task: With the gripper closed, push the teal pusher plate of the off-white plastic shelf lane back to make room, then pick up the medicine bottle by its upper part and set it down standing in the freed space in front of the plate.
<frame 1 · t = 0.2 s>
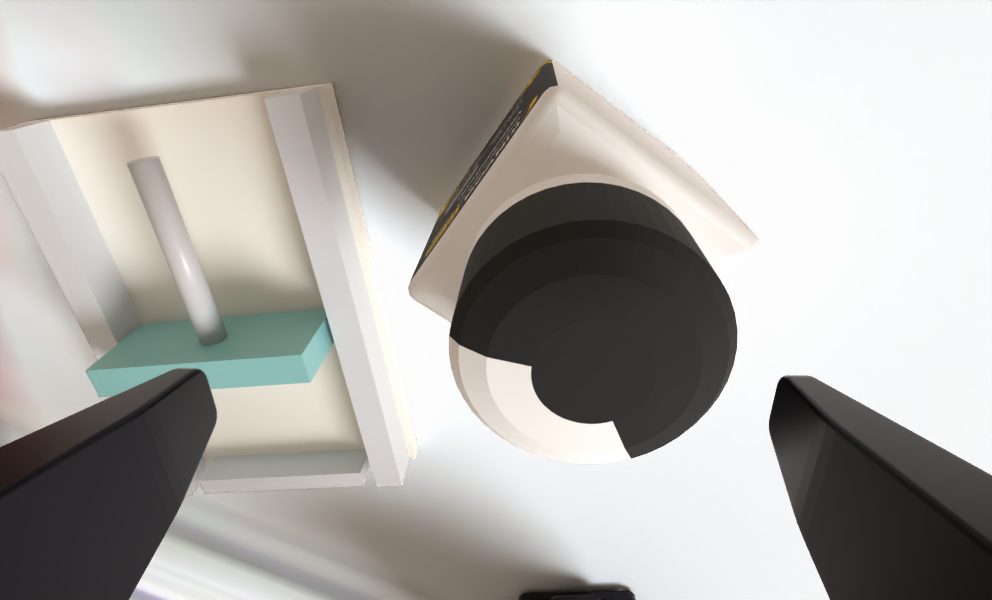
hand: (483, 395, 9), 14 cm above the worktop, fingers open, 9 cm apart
medicine bottle: (565, 193, 23), on the worktop
pusher: (187, 270, 21), point 3 cm above the worktop, slide at 0.0 cm
lane: (248, 304, 25), on the worktop
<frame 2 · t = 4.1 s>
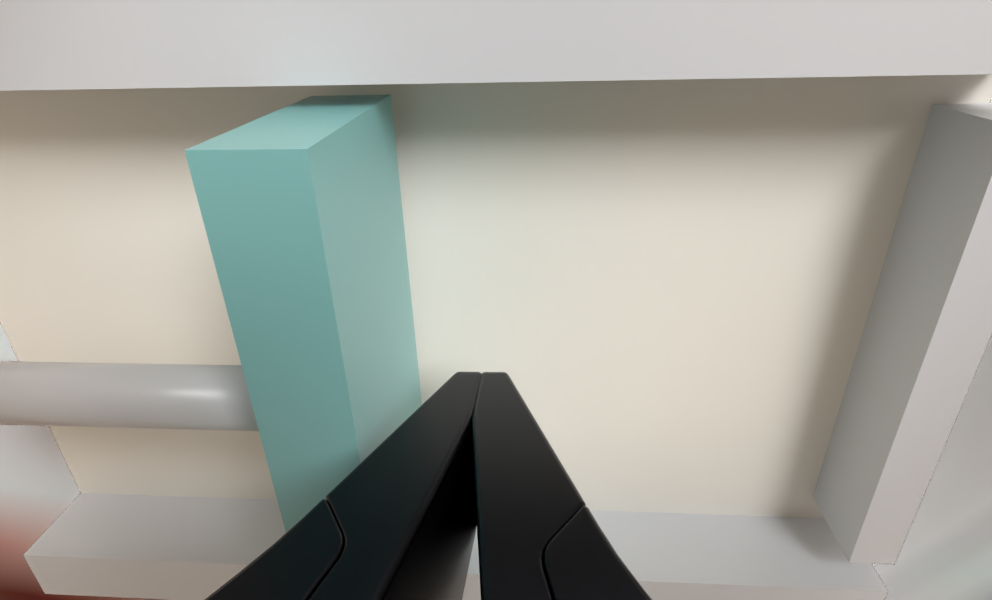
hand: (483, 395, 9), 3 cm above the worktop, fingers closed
pusher: (138, 393, 9), point 3 cm above the worktop, slide at 1.3 cm, touching gripper
lane: (437, 308, 12), on the worktop
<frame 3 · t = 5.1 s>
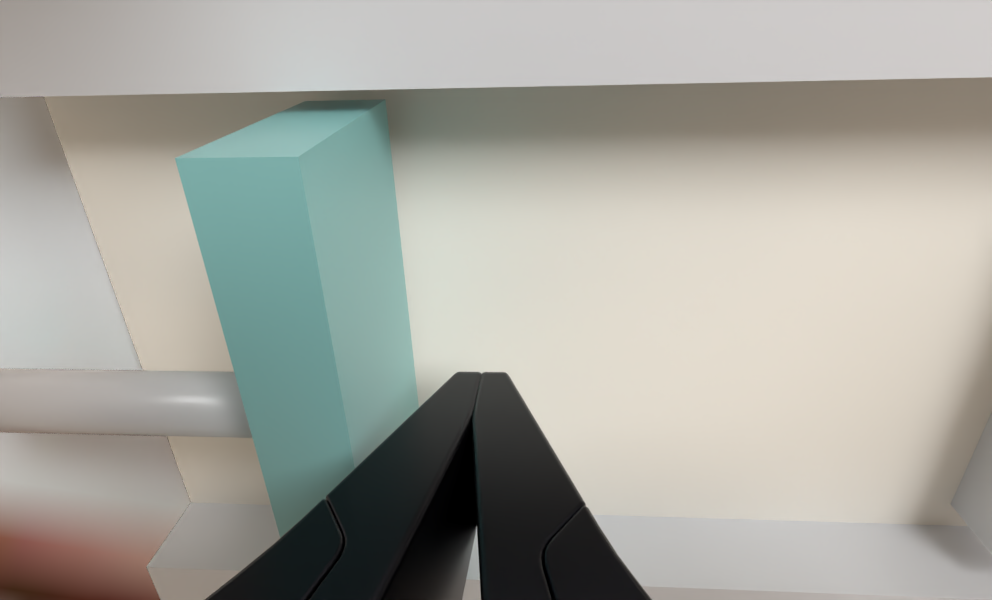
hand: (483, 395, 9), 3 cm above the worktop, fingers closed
pusher: (133, 400, 9), point 3 cm above the worktop, slide at 4.0 cm, touching gripper
lane: (572, 313, 11), on the worktop
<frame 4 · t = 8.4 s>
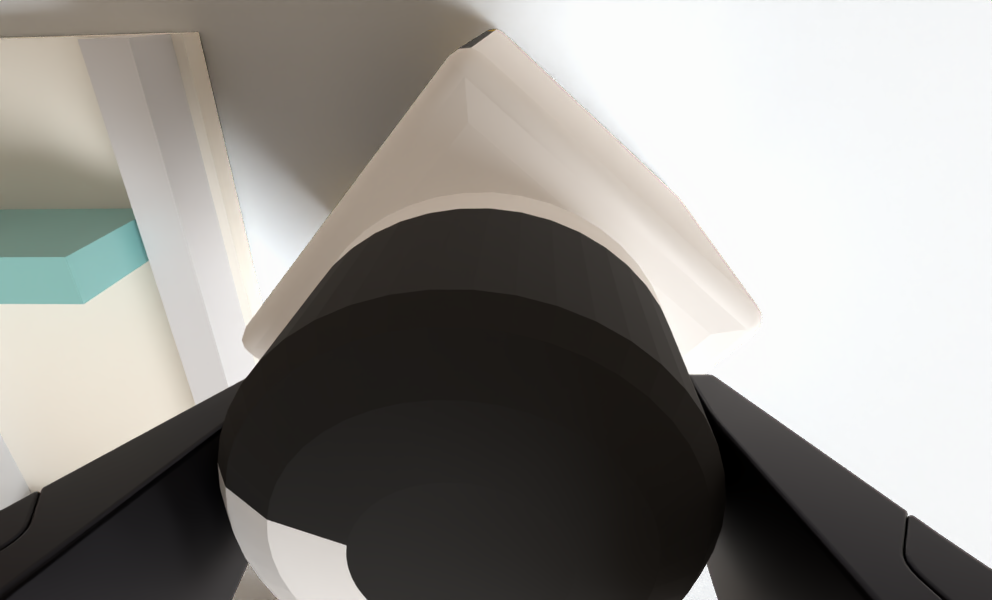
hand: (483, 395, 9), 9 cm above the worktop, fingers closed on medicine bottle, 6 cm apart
medicine bottle: (508, 210, 17), on the worktop, touching gripper
lane: (91, 316, 20), on the worktop
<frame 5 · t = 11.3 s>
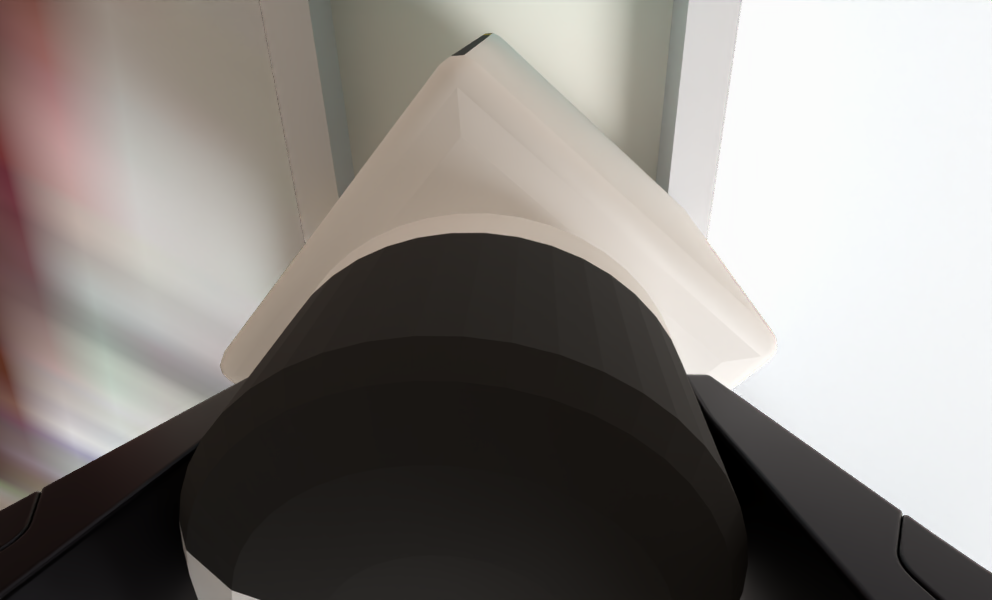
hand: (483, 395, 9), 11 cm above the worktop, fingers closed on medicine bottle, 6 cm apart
medicine bottle: (505, 221, 16), point 2 cm above the worktop, touching gripper, lane
lane: (502, 70, 17), on the worktop
when the fingers open (10 cm above the worktop, at t = 11.6 s): medicine bottle stays where it is, resting on lane.
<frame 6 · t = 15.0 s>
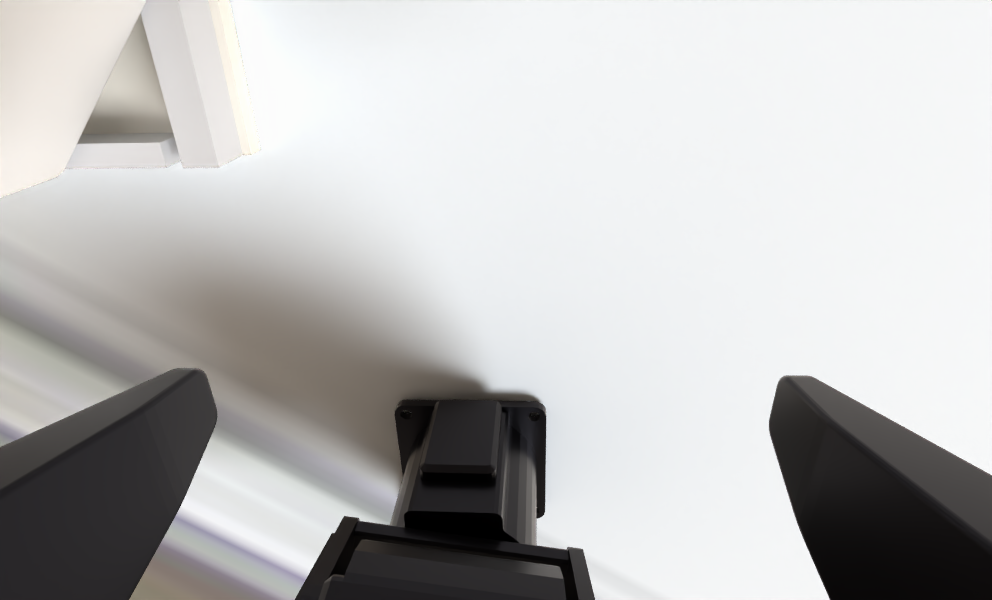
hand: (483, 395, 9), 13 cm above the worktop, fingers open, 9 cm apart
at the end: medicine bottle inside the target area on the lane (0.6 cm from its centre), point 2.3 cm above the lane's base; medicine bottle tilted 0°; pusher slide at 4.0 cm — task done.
